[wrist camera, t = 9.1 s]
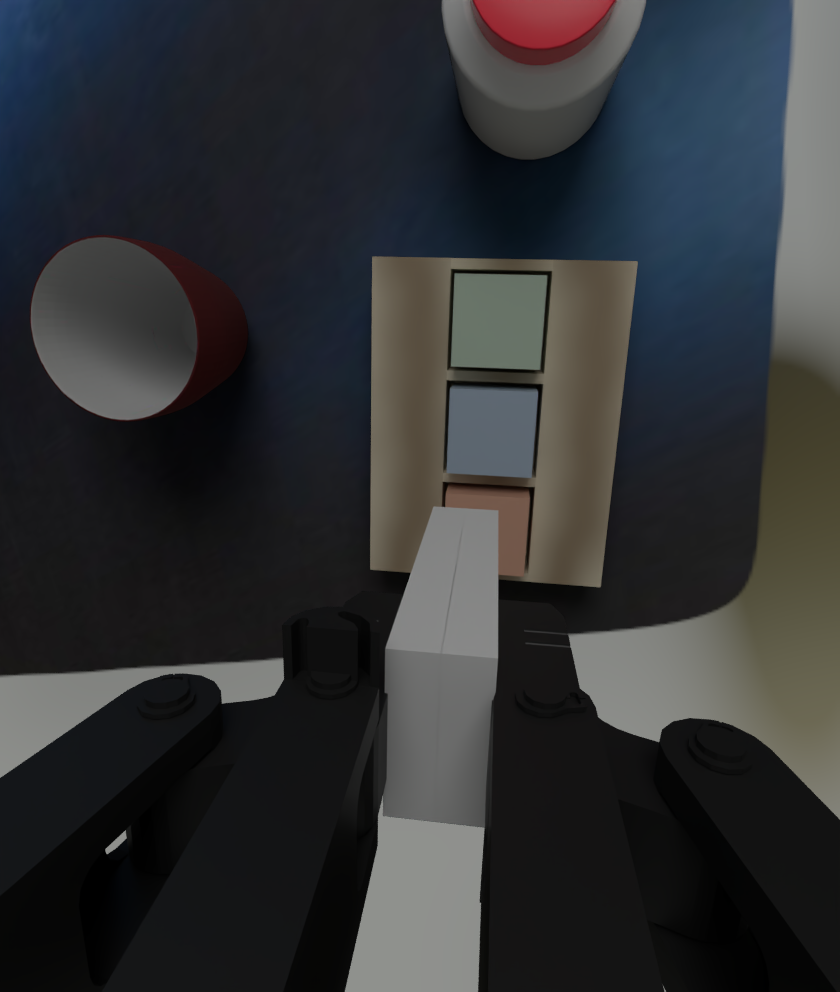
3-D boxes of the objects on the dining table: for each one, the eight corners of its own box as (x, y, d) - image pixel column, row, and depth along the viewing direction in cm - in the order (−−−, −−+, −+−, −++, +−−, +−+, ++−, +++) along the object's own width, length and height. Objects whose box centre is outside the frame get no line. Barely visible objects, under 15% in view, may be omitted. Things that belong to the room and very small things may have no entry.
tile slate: (451, 460, 36) (446, 473, 33) (454, 382, 35) (450, 388, 32) (529, 465, 36) (531, 477, 33) (535, 385, 34) (538, 392, 31)
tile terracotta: (447, 551, 38) (442, 570, 35) (450, 479, 36) (445, 493, 33) (522, 556, 37) (523, 576, 34) (527, 484, 36) (529, 498, 33)
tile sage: (455, 362, 35) (450, 366, 32) (459, 277, 33) (454, 273, 30) (537, 365, 34) (539, 369, 31) (543, 279, 33) (547, 275, 30)
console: (381, 549, 40) (370, 569, 37) (384, 262, 35) (372, 256, 32) (592, 564, 38) (600, 587, 35) (624, 266, 34) (637, 261, 30)
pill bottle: (553, -55, 30) (579, -253, 20) (643, 86, 31) (712, -31, 21) (426, 64, 32) (388, -57, 22) (515, 193, 33) (519, 135, 23)
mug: (125, 403, 39) (3, 430, 30) (98, 266, 37) (-42, 248, 28) (287, 392, 38) (213, 418, 28) (268, 249, 36) (182, 224, 26)
